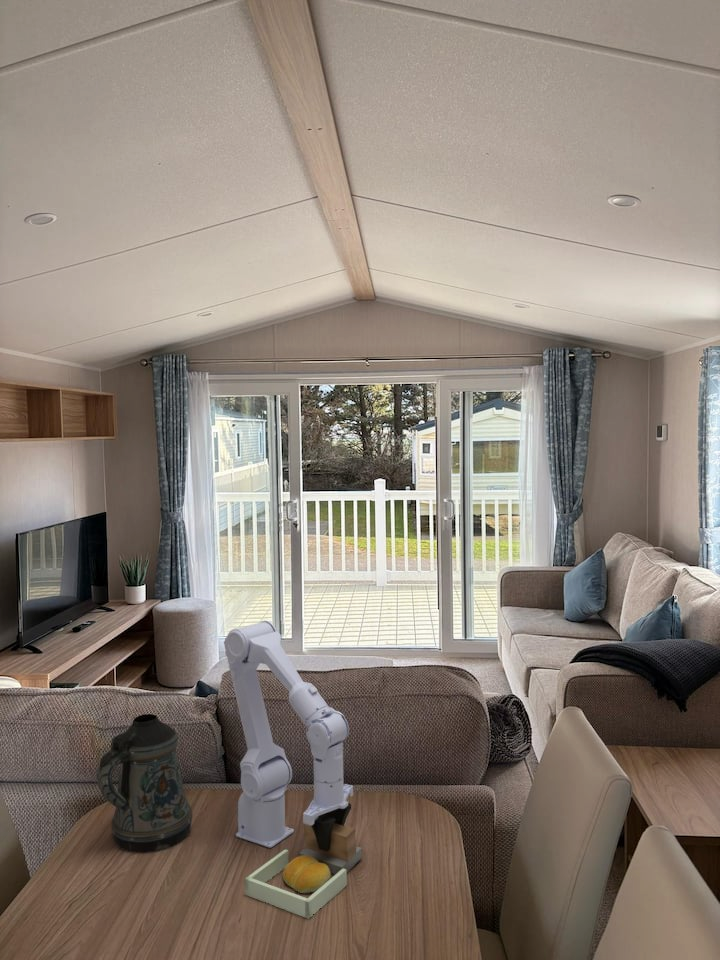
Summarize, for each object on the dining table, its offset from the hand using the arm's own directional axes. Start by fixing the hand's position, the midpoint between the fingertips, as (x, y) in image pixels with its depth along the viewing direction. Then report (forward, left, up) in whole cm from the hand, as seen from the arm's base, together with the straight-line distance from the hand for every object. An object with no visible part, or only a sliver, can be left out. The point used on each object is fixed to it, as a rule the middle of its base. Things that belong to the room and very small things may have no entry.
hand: (329, 845), depth 157 cm
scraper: (0, 0, -3) cm, 3 cm away
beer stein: (-38, -11, -4) cm, 40 cm away
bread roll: (0, -8, -4) cm, 8 cm away
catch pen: (0, -11, -3) cm, 11 cm away
